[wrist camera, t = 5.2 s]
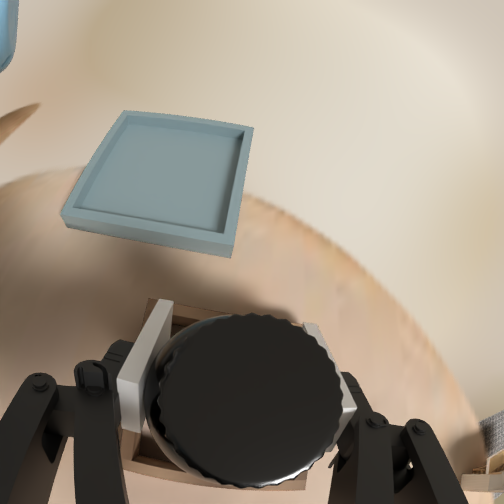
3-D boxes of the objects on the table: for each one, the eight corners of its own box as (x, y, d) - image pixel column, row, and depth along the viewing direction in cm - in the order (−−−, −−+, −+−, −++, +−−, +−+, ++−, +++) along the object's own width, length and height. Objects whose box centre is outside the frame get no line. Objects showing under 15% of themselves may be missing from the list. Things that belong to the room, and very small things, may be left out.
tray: (67, 227, 21) (60, 214, 19) (125, 123, 27) (123, 110, 26) (230, 258, 22) (233, 245, 20) (250, 141, 29) (253, 127, 27)
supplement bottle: (159, 355, 18) (109, 280, 7) (263, 343, 19) (343, 260, 9) (175, 458, 14) (146, 534, 4) (282, 441, 16) (396, 473, 6)
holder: (126, 461, 14) (118, 468, 12) (153, 309, 19) (148, 298, 17) (293, 482, 15) (305, 490, 13) (306, 334, 20) (318, 326, 18)
